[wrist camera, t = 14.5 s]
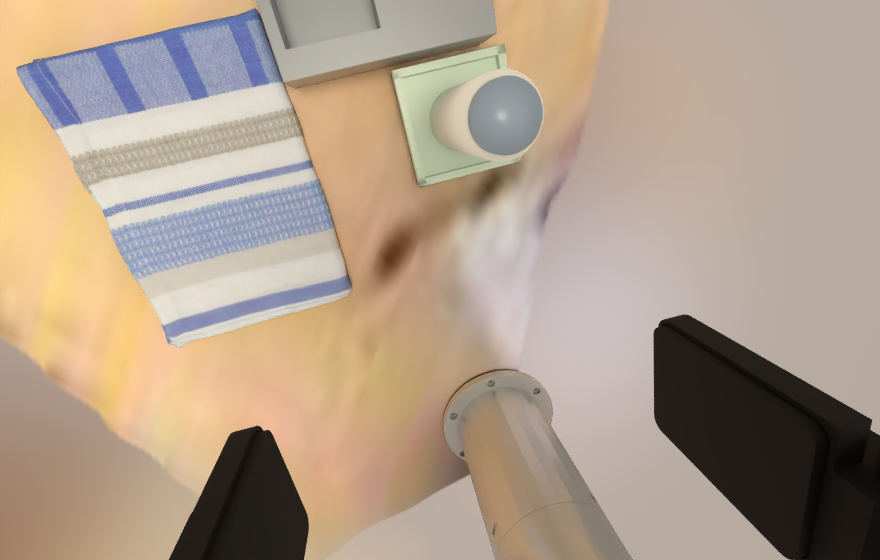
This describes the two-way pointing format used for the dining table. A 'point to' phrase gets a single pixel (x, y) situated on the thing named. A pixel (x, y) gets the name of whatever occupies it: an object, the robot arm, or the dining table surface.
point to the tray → (415, 102)
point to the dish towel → (197, 173)
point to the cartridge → (489, 115)
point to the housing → (368, 33)
